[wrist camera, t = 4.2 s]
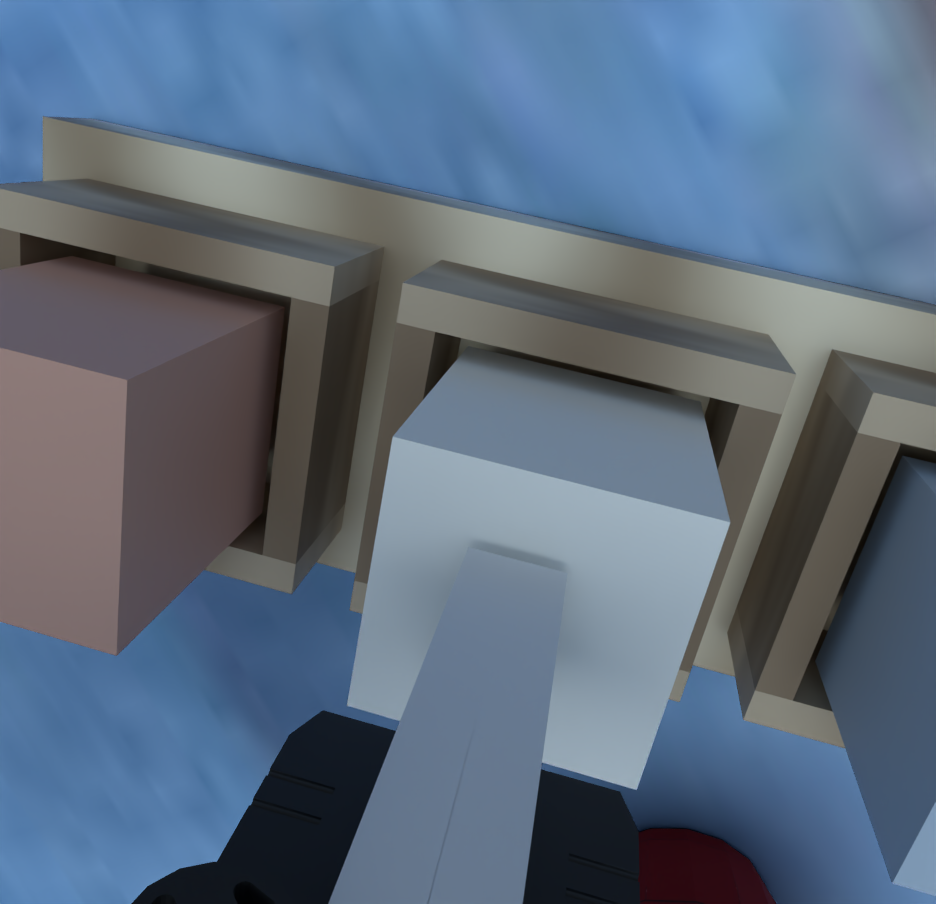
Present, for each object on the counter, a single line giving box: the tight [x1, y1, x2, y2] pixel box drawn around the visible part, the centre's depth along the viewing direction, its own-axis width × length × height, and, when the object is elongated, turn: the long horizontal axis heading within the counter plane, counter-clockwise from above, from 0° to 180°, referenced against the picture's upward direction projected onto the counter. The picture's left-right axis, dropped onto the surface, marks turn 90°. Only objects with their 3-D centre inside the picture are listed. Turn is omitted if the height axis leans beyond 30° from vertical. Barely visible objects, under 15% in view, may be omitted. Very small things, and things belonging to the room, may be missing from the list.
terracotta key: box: [0, 256, 285, 656], centre depth 16 cm, size 5×5×6 cm
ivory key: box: [347, 346, 730, 790], centre depth 16 cm, size 5×5×6 cm
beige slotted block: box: [0, 117, 936, 748], centre depth 20 cm, size 28×10×6 cm, turn 78°
